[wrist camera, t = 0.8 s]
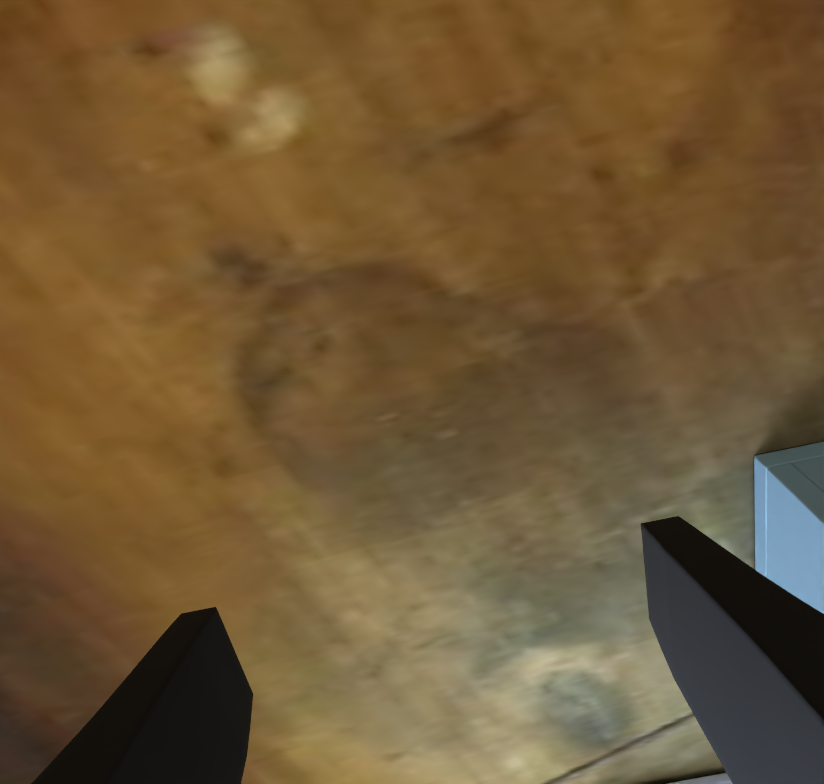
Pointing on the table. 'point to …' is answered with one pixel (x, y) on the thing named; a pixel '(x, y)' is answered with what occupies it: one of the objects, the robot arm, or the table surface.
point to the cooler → (791, 520)
